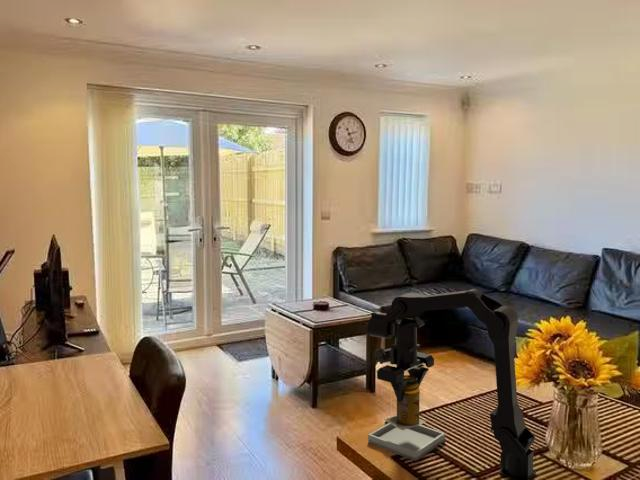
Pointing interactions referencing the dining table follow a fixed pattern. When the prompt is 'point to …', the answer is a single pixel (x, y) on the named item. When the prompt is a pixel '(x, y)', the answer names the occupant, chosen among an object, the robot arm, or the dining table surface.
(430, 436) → the tray
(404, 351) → the robot arm
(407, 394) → the condiment
